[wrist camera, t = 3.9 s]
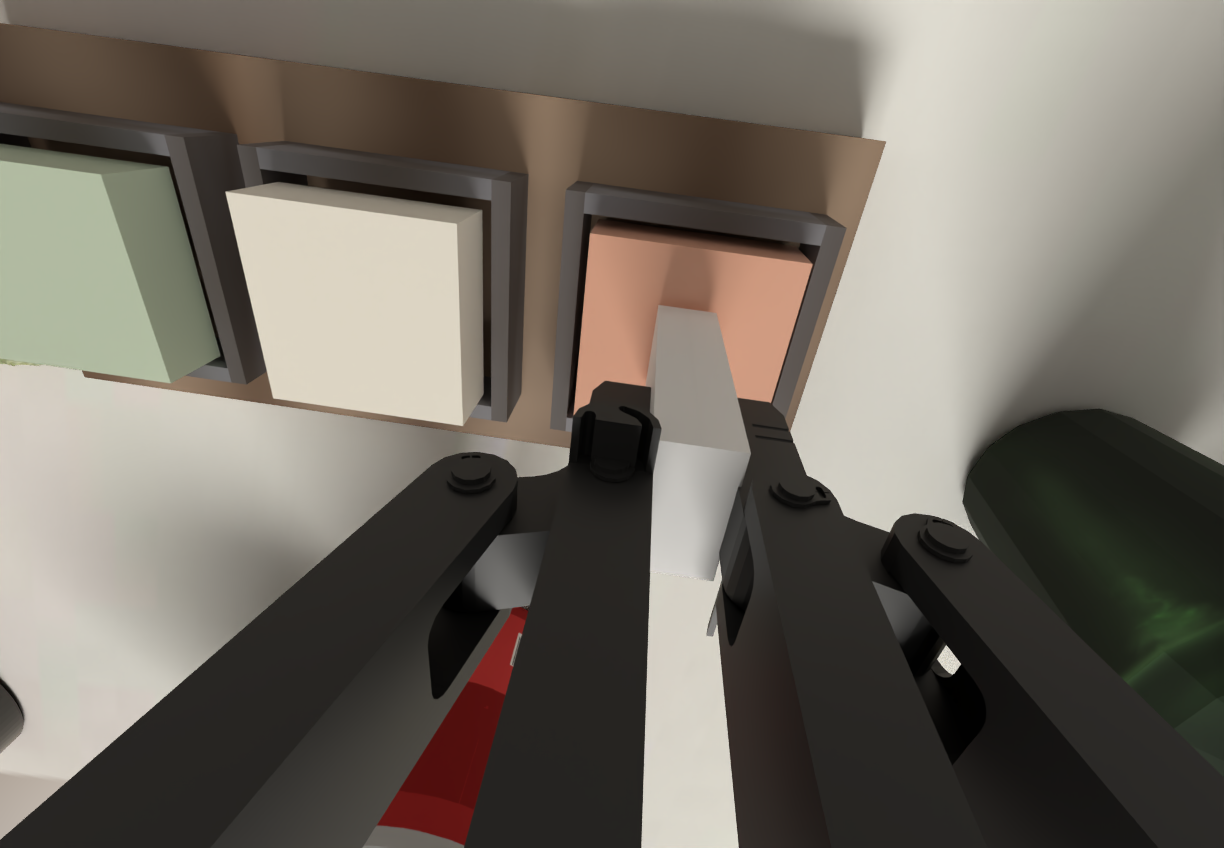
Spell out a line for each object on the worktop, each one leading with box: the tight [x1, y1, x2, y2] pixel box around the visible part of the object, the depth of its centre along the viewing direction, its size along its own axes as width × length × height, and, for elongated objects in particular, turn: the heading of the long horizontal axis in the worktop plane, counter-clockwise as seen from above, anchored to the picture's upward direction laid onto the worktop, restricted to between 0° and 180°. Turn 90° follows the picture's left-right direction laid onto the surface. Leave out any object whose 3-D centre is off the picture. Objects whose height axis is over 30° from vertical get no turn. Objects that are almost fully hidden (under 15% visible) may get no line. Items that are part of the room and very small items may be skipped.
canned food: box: [363, 607, 528, 848], centre depth 24 cm, size 8×8×11 cm
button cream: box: [226, 182, 484, 426], centre depth 15 cm, size 6×6×2 cm
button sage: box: [0, 144, 220, 383], centre depth 15 cm, size 6×6×2 cm
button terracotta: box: [574, 219, 813, 414], centre depth 16 cm, size 6×6×2 cm
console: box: [0, 23, 886, 448], centre depth 17 cm, size 26×11×4 cm, turn 84°
